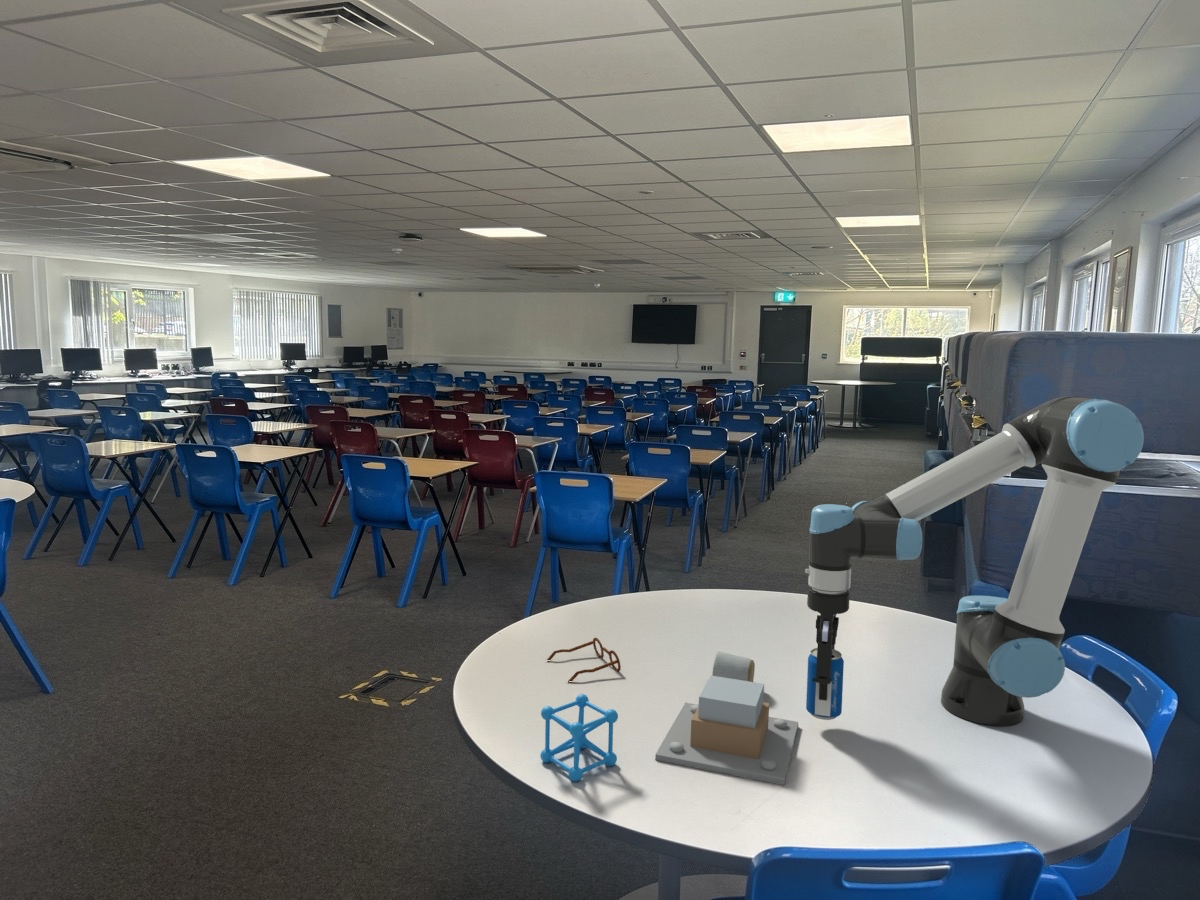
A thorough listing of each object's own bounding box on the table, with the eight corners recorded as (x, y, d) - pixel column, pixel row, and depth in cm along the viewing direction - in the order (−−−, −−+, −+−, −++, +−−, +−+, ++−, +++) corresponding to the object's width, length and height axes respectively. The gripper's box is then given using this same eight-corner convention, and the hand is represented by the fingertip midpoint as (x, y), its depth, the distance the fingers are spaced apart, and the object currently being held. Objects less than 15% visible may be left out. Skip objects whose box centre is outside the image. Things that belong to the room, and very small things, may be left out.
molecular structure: (581, 743, 145) (582, 690, 143) (619, 765, 137) (621, 710, 136) (537, 761, 138) (538, 706, 137) (574, 785, 131) (575, 727, 129)
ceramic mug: (750, 699, 164) (752, 663, 163) (710, 694, 166) (712, 658, 165) (755, 680, 174) (757, 646, 173) (718, 675, 176) (719, 641, 175)
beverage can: (817, 723, 148) (819, 661, 146) (799, 708, 154) (801, 648, 152) (848, 719, 149) (851, 657, 148) (829, 704, 156) (832, 645, 154)
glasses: (621, 676, 176) (622, 654, 175) (567, 685, 170) (567, 663, 169) (596, 654, 187) (596, 634, 187) (544, 663, 182) (544, 642, 181)
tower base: (797, 726, 152) (800, 676, 151) (784, 785, 132) (787, 727, 131) (685, 707, 160) (686, 659, 158) (655, 759, 139) (657, 705, 138)
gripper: (812, 572, 159) (808, 683, 162) (802, 601, 141) (798, 725, 144) (852, 576, 156) (847, 689, 159) (847, 606, 138) (841, 732, 141)
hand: (823, 706), depth 151 cm, fingers closed on beverage can, 6 cm apart
